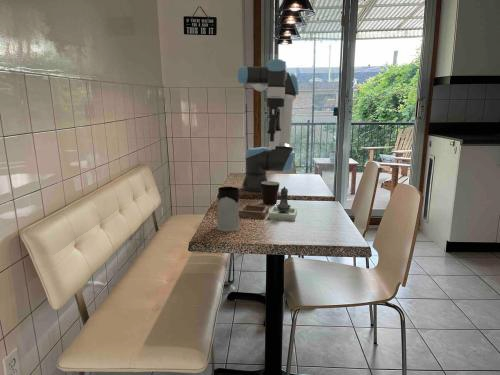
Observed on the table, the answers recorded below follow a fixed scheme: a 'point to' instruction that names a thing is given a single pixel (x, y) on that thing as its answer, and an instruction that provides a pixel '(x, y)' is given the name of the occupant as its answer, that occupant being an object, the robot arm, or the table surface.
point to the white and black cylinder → (228, 209)
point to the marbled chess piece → (283, 202)
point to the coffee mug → (270, 192)
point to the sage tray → (279, 216)
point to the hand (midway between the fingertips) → (273, 147)
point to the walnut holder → (254, 211)
